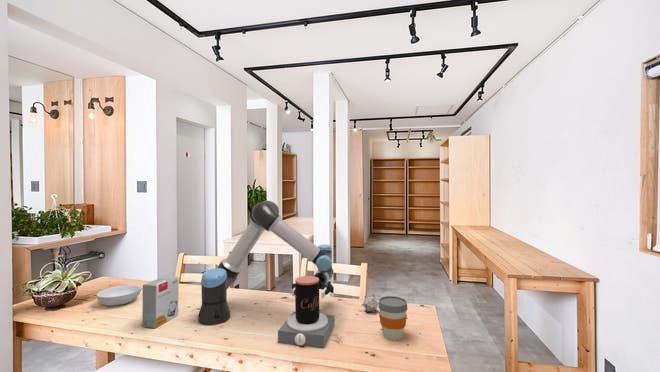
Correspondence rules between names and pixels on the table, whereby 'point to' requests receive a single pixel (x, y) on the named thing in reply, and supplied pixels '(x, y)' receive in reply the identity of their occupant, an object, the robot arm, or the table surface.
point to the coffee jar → (307, 299)
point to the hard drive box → (160, 301)
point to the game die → (370, 303)
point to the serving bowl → (118, 294)
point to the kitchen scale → (306, 331)
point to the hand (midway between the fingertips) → (307, 294)
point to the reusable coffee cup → (393, 316)
